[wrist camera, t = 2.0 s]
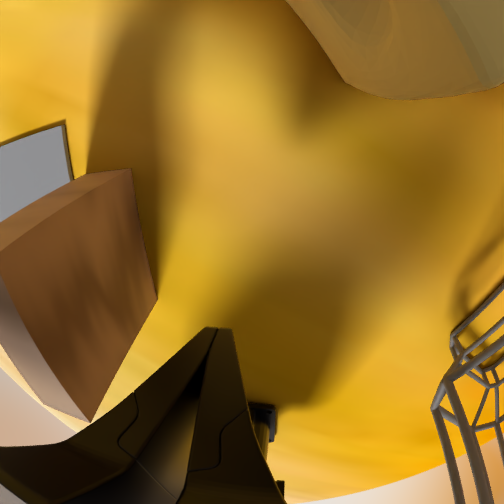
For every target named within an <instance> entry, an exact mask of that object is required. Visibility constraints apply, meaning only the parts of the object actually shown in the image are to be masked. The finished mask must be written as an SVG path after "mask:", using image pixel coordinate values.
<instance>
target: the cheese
mask: <svg viewBox="0 0 504 504" xmlns="http://www.w3.org/2000/svg"><path fill="white" fill-rule="evenodd" d="M285 1H286V2H287V3H288V4H289V5H290V7H291V8H292V9H293V10H294V11H295V13H296V14H297V15H298V16H299V18H300V19H301V20H302V21H303V23H304V24H305V25H306V26H307V28H308V29H309V30H310V32H311V33H312V34H313V36H314V37H315V38H316V40H317V41H318V43H319V44H320V46H321V47H322V48H323V50H324V51H325V53H326V54H327V56H328V57H329V59H330V60H331V62H332V64H333V65H334V67H335V68H336V70H337V71H338V73H339V74H340V76H341V77H342V79H343V80H344V82H345V83H347V84H350V85H352V86H353V87H355V88H357V89H359V90H361V91H364V92H366V93H369V94H372V95H375V96H379V97H383V98H387V99H395V100H417V99H429V98H439V97H450V96H456V95H461V94H466V93H473V92H479V91H486V90H488V89H491V88H494V87H497V86H499V85H501V84H502V83H504V0H285Z"/></svg>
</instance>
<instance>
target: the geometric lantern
mask: <svg viewBox="0 0 504 504" xmlns="http://www.w3.org/2000/svg"><path fill="white" fill-rule="evenodd" d="M503 290H504V282H503V283H502V284H501V285H500V286H499V287H498V289H497V290H496V291H495V292H494V293H493V294H492V295H491V296H490V297H489V298H488V299H487V300H486V301H485V302H484V303H483V304H482V305H481V306H480V307H479V308H478V309H477V310H476V311H475V312H474V313H473V314H472V315H471V316H470V317H469V318H467V319H466V320H465V321H464V322H463V323H462V324H461V325H460V326H459V327H458V328H456V329H455V330H454V331H453V332H452V333H451V334H450V350H451V353H452V356H453V359H454V362H453V364H452V365H451V367H450V368H449V369H448V371H447V372H446V373H445V375H444V376H443V378H442V380H441V382H440V384H439V386H438V389H437V391H436V394H435V396H434V399H433V401H432V404H431V407H430V409H431V412H432V415H433V418H434V421H435V424H436V428H437V431H438V434H439V438H440V441H441V445H442V448H443V452H444V456H445V460H446V464H447V468H448V472H449V476H450V481H451V486H452V490H453V495H454V500H455V504H465V499H464V495H463V489H462V485H461V480H460V476H459V472H458V468H457V464H456V460H455V456H454V453H453V449H452V445H451V442H450V439H449V436H448V432H447V429H446V426H445V423H444V420H443V418H445V419H446V420H448V421H450V422H452V423H453V424H455V425H457V426H458V427H459V429H460V432H461V435H462V438H463V442H464V445H465V448H466V451H467V455H468V458H469V462H470V466H471V469H472V473H473V477H474V481H475V485H476V489H477V494H478V499H479V504H494V500H493V496H492V491H491V487H490V483H489V479H488V475H487V471H486V467H485V464H484V460H483V457H482V453H481V450H480V447H479V443H478V440H477V437H476V434H475V432H478V431H482V430H485V429H489V428H492V427H494V428H495V432H496V436H497V440H498V443H499V448H500V452H501V457H502V461H503V465H504V439H503V435H502V431H501V428H500V424H499V423H501V422H502V421H504V415H502V416H501V417H499V388H498V387H499V386H500V385H501V384H502V383H504V378H502V379H501V380H499V378H498V375H497V373H496V370H495V368H496V367H497V366H498V365H499V364H500V363H501V362H502V361H504V356H502V357H501V358H500V359H499V360H498V361H497V362H496V363H495V364H493V365H492V366H489V367H487V368H485V369H481V368H480V367H479V366H478V365H479V364H480V363H482V362H483V361H484V360H486V359H487V358H489V357H490V356H491V355H493V354H494V353H495V352H497V351H498V350H499V349H500V348H502V347H503V346H504V335H502V336H501V337H500V338H499V339H497V340H496V341H495V342H494V343H492V344H491V345H490V346H488V347H487V348H486V349H484V350H483V351H482V352H480V353H479V354H478V355H476V356H475V357H473V358H472V359H470V358H469V357H467V356H466V355H467V354H468V353H470V352H471V351H472V350H474V349H475V348H476V347H477V346H478V345H480V344H481V343H482V342H483V341H484V340H486V339H487V338H488V337H489V336H490V335H491V334H493V333H494V332H495V331H496V330H497V329H498V328H499V327H500V326H502V325H503V324H504V317H502V318H501V319H500V320H499V321H498V322H497V323H496V324H495V325H494V326H493V327H492V328H490V329H489V330H488V331H487V332H486V333H485V334H483V335H482V336H481V337H480V338H479V339H478V340H476V341H475V342H474V343H473V344H472V345H470V346H469V347H468V348H467V349H465V350H464V349H463V347H462V345H461V344H460V342H459V340H458V338H457V336H456V335H457V334H458V333H459V332H461V331H462V330H463V329H464V328H465V327H466V326H467V325H468V324H469V323H471V322H472V321H473V320H474V319H475V318H476V317H477V316H478V315H479V314H480V313H481V312H482V311H483V310H484V309H485V308H486V307H487V306H488V305H489V304H490V303H491V302H492V301H493V300H494V299H495V298H496V297H497V296H498V295H499V294H500V293H501V292H502V291H503ZM454 344H455V345H454ZM457 354H458V355H457ZM463 359H464V360H465V361H466V363H465V364H463V365H462V364H461V363H462V360H463ZM473 368H474V369H475V370H477V371H478V372H479V373H480V374H481V375H482V377H483V379H481V378H480V377H478V376H477V375H476V374H474V373H473V372H472V371H470V370H472V369H473ZM490 370H491V371H492V374H493V376H494V379H495V381H496V383H493V384H490V383H489V381H488V378H487V376H486V373H485V372H488V371H490ZM464 374H467V375H468V376H470V377H471V378H473V379H474V380H476V381H477V382H479V383H480V384H481V385H483V386H484V387H486V389H485V392H484V395H483V398H482V401H481V403H480V406H479V409H478V411H477V414H476V416H475V419H474V421H473V423H472V426H470V425H469V423H468V420H467V418H466V415H465V412H464V409H463V407H462V404H461V401H460V399H459V396H458V394H457V391H456V389H455V386H454V384H453V381H455V380H457V379H458V378H460V377H461V376H463V375H464ZM494 387H495V421H493V422H490V423H486V424H482V425H478V426H476V423H477V421H478V419H479V416H480V414H481V411H482V408H483V406H484V403H485V401H486V398H487V395H488V392H489V389H490V388H494ZM446 393H447V395H448V398H449V401H450V403H451V406H452V409H453V412H454V414H455V415H453V414H452V413H450V412H449V411H447V410H446V409H444V408H443V407H441V406H440V402H441V401H442V399H443V397H444V396H445V394H446Z"/></svg>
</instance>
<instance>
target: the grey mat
mask: <svg viewBox="0 0 504 504" xmlns="http://www.w3.org/2000/svg"><path fill="white" fill-rule="evenodd" d="M71 181H73V177H72V171H71V166H70V160H69V153H68V147H67V140H66V132H65V125H61V126H58V127H55V128H51V129H48V130H45V131H42V132H39V133H36V134H33V135H30V136H27V137H25V138H22V139H19V140H17V141H14V142H11V143H9V144H6V145H4V146H1V147H0V222H2V221H3V220H5V219H6V218H8V217H9V216H11V215H13V214H14V213H16V212H17V211H19V210H21V209H22V208H24V207H26V206H27V205H29V204H31V203H32V202H34V201H36V200H38V199H39V198H41V197H43V196H45V195H46V194H48V193H50V192H52V191H54V190H56V189H57V188H59V187H61V186H63V185H65V184H67V183H69V182H71Z"/></svg>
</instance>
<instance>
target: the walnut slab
mask: <svg viewBox="0 0 504 504" xmlns="http://www.w3.org/2000/svg"><path fill="white" fill-rule="evenodd" d="M157 300H158V299H157V296H156V292H155V288H154V284H153V280H152V275H151V271H150V267H149V263H148V258H147V254H146V249H145V244H144V240H143V235H142V230H141V225H140V219H139V214H138V209H137V203H136V197H135V191H134V185H133V179H132V172H131V168H129V169H120V170H112V171H104V172H96V173H89V174H85V175H83V176H81V177H79V178H77V179H75V180H73V181H71V182H69V183H67V184H65V185H63V186H61V187H59V188H57V189H56V190H54V191H52V192H50V193H48V194H46V195H45V196H43V197H41V198H39V199H38V200H36V201H34V202H32V203H31V204H29V205H27V206H26V207H24V208H22V209H21V210H19V211H17V212H16V213H14V214H13V215H11V216H9V217H8V218H6V219H5V220H3V221H2V222H0V344H1V345H2V347H3V349H4V350H5V352H6V353H7V355H8V356H9V358H10V359H11V361H12V362H13V364H14V365H15V367H16V368H17V370H18V371H19V372H20V374H21V375H22V377H23V378H24V379H25V381H26V382H27V383H28V385H29V386H30V387H31V389H32V390H33V391H34V393H35V394H36V395H37V396H38V398H39V399H40V400H41V401H42V403H43V404H45V405H47V406H49V407H51V408H54V409H56V410H58V411H61V412H63V413H65V414H68V415H70V416H73V417H75V418H78V419H80V420H83V421H86V422H89V423H91V421H92V419H93V417H94V415H95V413H96V411H97V409H98V407H99V405H100V404H101V402H102V400H103V398H104V396H105V394H106V392H107V390H108V388H109V386H110V384H111V382H112V380H113V379H114V377H115V375H116V373H117V371H118V369H119V367H120V366H121V364H122V362H123V360H124V358H125V356H126V355H127V353H128V351H129V349H130V347H131V346H132V344H133V342H134V340H135V338H136V337H137V335H138V333H139V331H140V330H141V328H142V326H143V324H144V323H145V321H146V319H147V317H148V316H149V314H150V312H151V310H152V309H153V307H154V305H155V304H156V302H157Z"/></svg>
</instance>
